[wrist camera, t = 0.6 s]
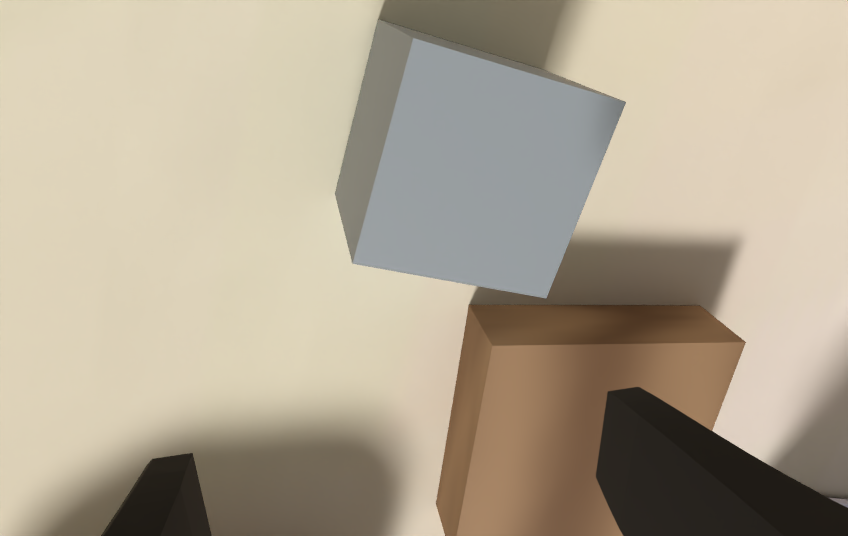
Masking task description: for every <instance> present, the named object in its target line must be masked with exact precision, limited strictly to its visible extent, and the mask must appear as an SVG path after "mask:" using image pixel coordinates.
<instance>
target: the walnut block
mask: <svg viewBox="0 0 848 536" xmlns="http://www.w3.org/2000/svg"><path fill="white" fill-rule="evenodd" d="M745 343H746V342H745V341H744V340H742V339H741V338H740V337H739V336H737V335H736V334H735V333H734V332H732V331H731V330H730V329H729V328H727V327H726V326H725V325H724V324H722V323H721V322H720V321H719V320H717V319H716V318H715V317H714V316H712V315H711V314H710V313H709V312H707V311H706V310H705V309H704V308H702V307H701V306H676V305H469V307H468V314H467V320H466V326H465V332H464V338H463V344H462V350H461V356H460V362H459V368H458V374H457V380H456V386H455V392H454V398H453V404H452V410H451V416H450V422H449V428H448V434H447V440H446V447H445V453H444V459H443V465H442V471H441V477H440V483H439V489H438V495H437V501H436V506H437V509H438V512H439V516H440V519H441V523H442V526H443V529H444V533H445V536H623V534H622V533H621V531H620V529H619V527H618V525H617V523H616V521H615V519H614V517H613V515H612V513H611V510H610V508H609V506H608V504H607V502H606V499H605V497H604V495H603V493H602V490H601V488H600V486H599V483H598V481H597V479H596V470H597V463H598V456H599V449H600V442H601V435H602V428H603V421H604V414H605V407H606V400H607V393H608V391H613V390H619V389H626V388H633V387H640V388H642V389H644V390H646V391H647V392H649V393H651V394H653V395H654V396H656V397H658V398H659V399H661V400H663V401H664V402H666V403H668V404H669V405H671V406H672V407H674V408H676V409H677V410H679V411H680V412H682V413H684V414H685V415H687V416H688V417H690V418H692V419H693V420H695V421H696V422H698V423H700V424H701V425H703V426H704V427H706V428H708V429H709V430H711V431H712V429H713V427H714V424H715V421H716V419H717V416H718V414H719V411H720V408H721V406H722V403H723V401H724V398H725V395H726V393H727V390H728V387H729V385H730V382H731V380H732V377H733V374H734V372H735V369H736V366H737V364H738V361H739V359H740V356H741V353H742V351H743V348H744V345H745Z"/></svg>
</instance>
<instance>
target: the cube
mask: <svg viewBox="0 0 848 536" xmlns="http://www.w3.org/2000/svg"><path fill="white" fill-rule="evenodd" d="M625 103H626V102H624V101H622V100H619V99H616V98H614V97H611V96H609V95H606V94H604V93H601V92H599V91H596V90H594V89H591V88H588V87H586V86H583V85H581V84H578V83H576V82H573V81H571V80H568V79H566V78H563V77H560V76H558V75H555V74H553V73H550V72H548V71H545V70H542V69H539V68H536V67H533V66H529V65H526V64H523V63H520V62H516V61H513V60H510V59H507V58H503V57H500V56H497V55H494V54H490V53H487V52H484V51H480V50H477V49H474V48H471V47H467V46H464V45H461V44H458V43H454V42H451V41H448V40H445V39H441V38H438V37H435V36H431V35H428V34H425V33H422V32H418V31H415V30H412V29H409V28H405V27H402V26H399V25H396V24H392V23H389V22H386V21H382V20H379V19H378V21H377V25H376V29H375V33H374V37H373V42H372V46H371V50H370V54H369V58H368V62H367V66H366V70H365V74H364V78H363V82H362V86H361V90H360V94H359V98H358V102H357V106H356V110H355V114H354V118H353V123H352V127H351V131H350V135H349V139H348V143H347V147H346V151H345V155H344V159H343V163H342V167H341V171H340V175H339V179H338V183H337V187H336V191H335V196H336V200H337V204H338V208H339V212H340V216H341V220H342V224H343V228H344V232H345V236H346V240H347V244H348V248H349V252H350V255H351V259H352V263H353V264H357V265H363V266H369V267H374V268H380V269H385V270H391V271H396V272H402V273H407V274H413V275H419V276H424V277H430V278H435V279H441V280H446V281H452V282H457V283H463V284H469V285H474V286H480V287H485V288H491V289H496V290H502V291H507V292H513V293H518V294H524V295H530V296H535V297H541V298H547V296H548V293H549V291H550V288H551V286H552V283H553V281H554V278H555V276H556V273H557V271H558V268H559V266H560V264H561V261H562V259H563V256H564V254H565V251H566V249H567V246H568V244H569V241H570V239H571V236H572V234H573V231H574V229H575V227H576V224H577V222H578V219H579V217H580V214H581V212H582V209H583V207H584V204H585V202H586V199H587V197H588V194H589V192H590V190H591V187H592V185H593V182H594V180H595V177H596V175H597V172H598V170H599V167H600V165H601V162H602V160H603V158H604V155H605V153H606V150H607V148H608V145H609V143H610V140H611V138H612V135H613V133H614V130H615V128H616V125H617V123H618V121H619V118H620V116H621V113H622V111H623V108H624V106H625Z"/></svg>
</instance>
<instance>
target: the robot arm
mask: <svg viewBox="0 0 848 536" xmlns="http://www.w3.org/2000/svg"><path fill="white" fill-rule="evenodd" d="M596 479H597V481H598V483H599V486H600V488H601V490H602V493H603V495H604V497H605V499H606V502H607V504H608V506H609V508H610V510H611V513H612V515H613V517H614V519H615V521H616V523H617V525H618V527H619V529H620V531H621V533H622V534H623V536H848V499H838V498H827V497H825V496H824V495H822V494H820V493H818V492H816V491H814V490H812V489H811V488H809V487H807V486H805V485H803V484H801V483H800V482H798V481H796V480H794V479H792V478H790V477H789V476H787V475H785V474H783V473H781V472H780V471H778V470H776V469H774V468H773V467H771V466H769V465H767V464H766V463H764V462H762V461H761V460H759V459H757V458H755V457H754V456H752V455H750V454H749V453H747V452H745V451H744V450H742V449H740V448H739V447H737V446H735V445H734V444H732V443H730V442H729V441H727V440H726V439H724V438H722V437H721V436H719V435H717V434H716V433H714V432H713V431H711V430H709V429H708V428H706V427H704V426H703V425H701V424H700V423H698V422H696V421H695V420H693V419H692V418H690V417H688V416H687V415H685V414H684V413H682V412H680V411H679V410H677V409H676V408H674V407H672V406H671V405H669V404H668V403H666V402H664V401H663V400H661V399H659V398H658V397H656V396H654V395H653V394H651V393H649V392H647V391H646V390H644V389H642V388H640V387H633V388H626V389H619V390H613V391H608V393H607V400H606V407H605V414H604V421H603V428H602V435H601V442H600V449H599V456H598V463H597V470H596ZM101 536H211V532H210V527H209V523H208V519H207V514H206V510H205V506H204V501H203V497H202V493H201V488H200V484H199V479H198V475H197V471H196V466H195V462H194V458H193V453H190V454H183V455H176V456H170V457H163V458H156V459H152V460H151V461H150V462H149V464H148V465H147V466H146V467H145V469H144V470H143V472H142V474H141V475H140V477H139V478H138V480H137V482H136V483H135V485H134V486H133V488H132V490H131V491H130V493H129V494H128V496H127V497H126V499H125V500H124V502H123V504H122V505H121V507H120V508H119V510H118V511H117V513H116V514H115V516H114V517H113V519H112V520H111V522H110V523H109V525H108V526H107V528H106V529H105V531H104V532H103V534H102V535H101Z"/></svg>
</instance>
